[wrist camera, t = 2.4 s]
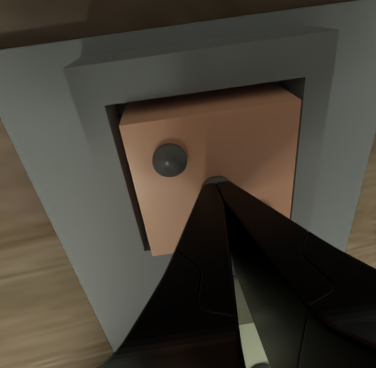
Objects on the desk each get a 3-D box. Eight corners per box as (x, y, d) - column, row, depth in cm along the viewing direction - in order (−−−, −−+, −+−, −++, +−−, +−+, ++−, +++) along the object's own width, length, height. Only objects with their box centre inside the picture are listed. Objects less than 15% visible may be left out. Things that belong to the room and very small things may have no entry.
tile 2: (270, 331, 16) (287, 382, 13) (179, 345, 15) (182, 399, 13) (274, 269, 13) (297, 321, 11) (165, 286, 13) (166, 341, 11)
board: (311, 366, 23) (327, 403, 21) (138, 393, 23) (136, 433, 20) (399, -6, 9) (468, -10, 7) (-22, 52, 9) (-75, 65, 7)
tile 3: (267, 199, 12) (290, 239, 10) (153, 216, 12) (152, 260, 10) (272, 81, 10) (304, 101, 8) (126, 101, 10) (117, 129, 8)
